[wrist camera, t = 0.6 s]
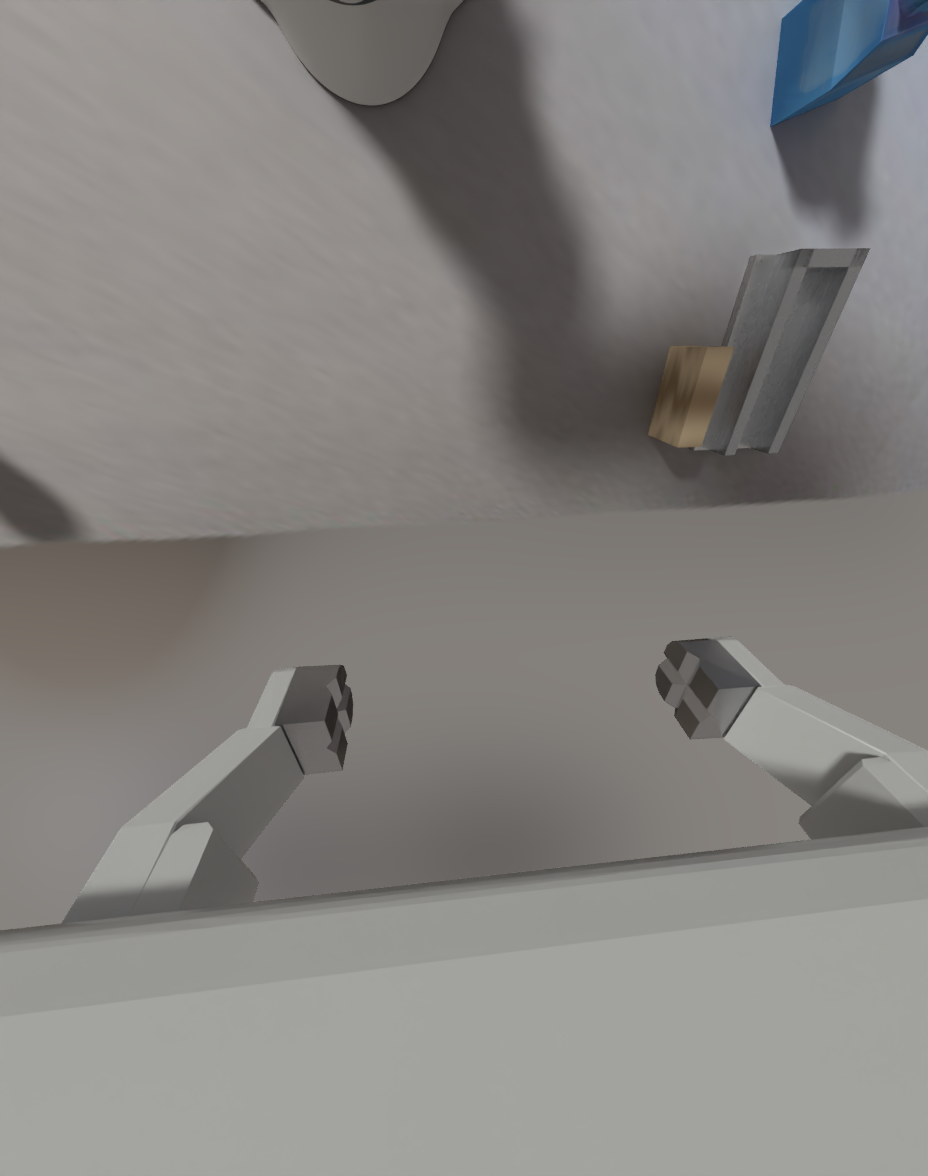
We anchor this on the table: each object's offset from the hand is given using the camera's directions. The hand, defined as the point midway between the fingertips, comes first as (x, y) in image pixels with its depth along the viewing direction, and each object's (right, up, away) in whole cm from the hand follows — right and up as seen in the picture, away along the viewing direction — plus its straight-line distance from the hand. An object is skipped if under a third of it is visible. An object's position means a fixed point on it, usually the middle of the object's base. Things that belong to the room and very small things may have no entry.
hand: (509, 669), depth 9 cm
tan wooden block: (+25, +27, +38) cm, 53 cm away
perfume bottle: (+30, +49, +23) cm, 62 cm away
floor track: (+36, +30, +36) cm, 59 cm away
